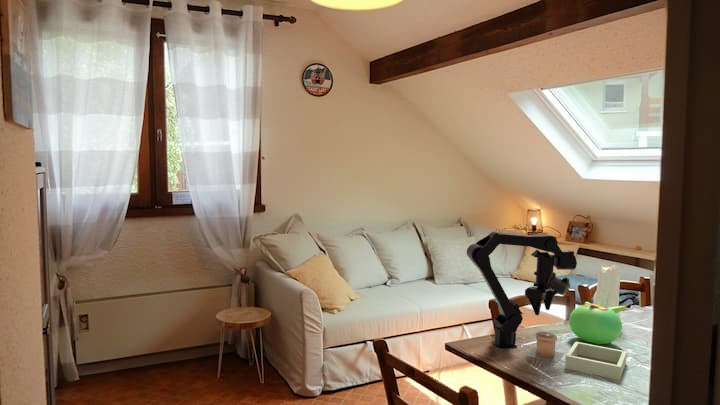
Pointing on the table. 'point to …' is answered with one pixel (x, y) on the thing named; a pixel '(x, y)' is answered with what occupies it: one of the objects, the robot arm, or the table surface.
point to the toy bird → (596, 323)
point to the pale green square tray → (596, 360)
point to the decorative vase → (608, 287)
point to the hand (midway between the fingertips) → (542, 312)
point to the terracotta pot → (545, 344)
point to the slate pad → (553, 359)
